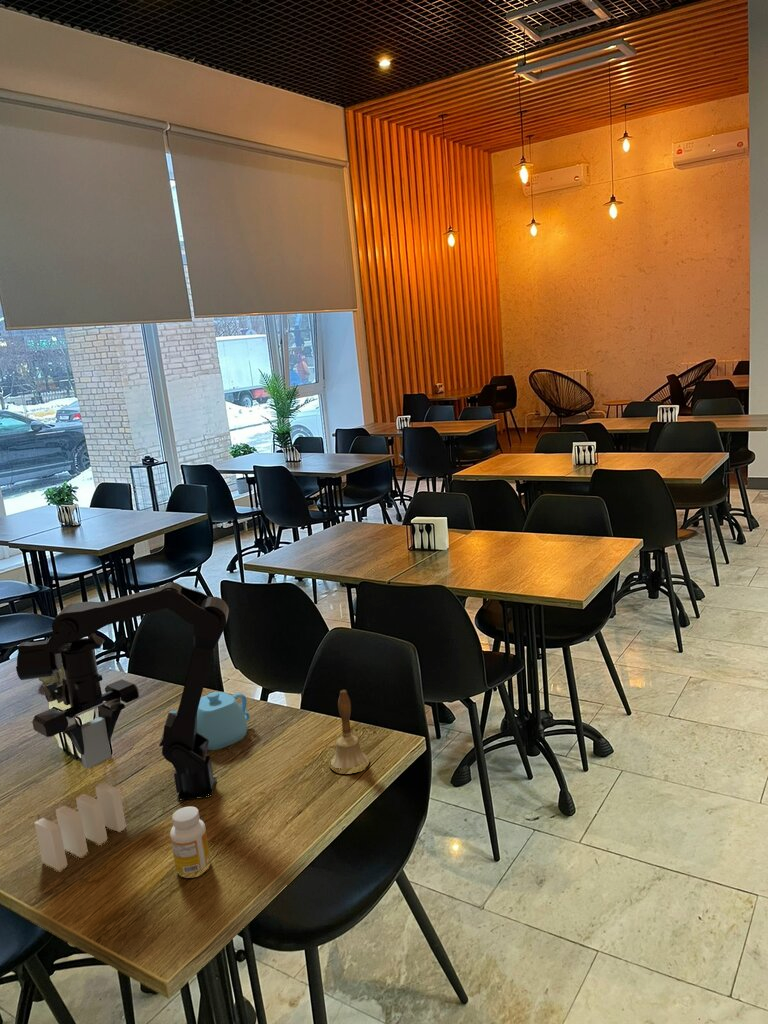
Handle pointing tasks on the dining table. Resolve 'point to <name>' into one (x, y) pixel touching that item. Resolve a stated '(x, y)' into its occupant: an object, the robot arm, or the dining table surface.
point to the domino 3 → (95, 742)
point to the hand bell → (347, 739)
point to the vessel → (54, 678)
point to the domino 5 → (92, 818)
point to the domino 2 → (72, 830)
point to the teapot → (221, 719)
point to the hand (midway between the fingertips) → (95, 747)
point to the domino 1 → (50, 843)
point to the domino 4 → (111, 806)
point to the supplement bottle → (189, 841)
